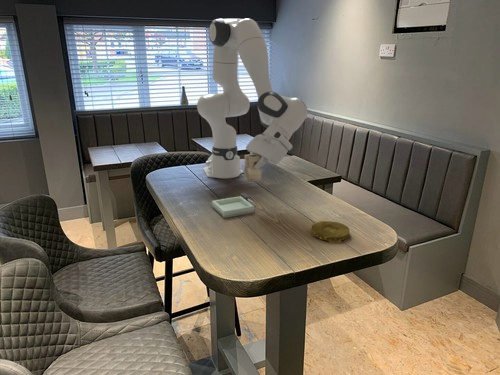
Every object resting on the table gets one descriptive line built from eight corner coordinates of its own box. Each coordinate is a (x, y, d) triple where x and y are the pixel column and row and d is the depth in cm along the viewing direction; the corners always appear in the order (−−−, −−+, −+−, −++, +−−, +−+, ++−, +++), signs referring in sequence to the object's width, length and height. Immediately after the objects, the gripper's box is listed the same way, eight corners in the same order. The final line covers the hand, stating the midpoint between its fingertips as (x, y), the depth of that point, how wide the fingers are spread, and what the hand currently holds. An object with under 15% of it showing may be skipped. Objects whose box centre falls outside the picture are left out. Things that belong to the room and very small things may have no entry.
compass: (336, 247, 113) (336, 240, 113) (303, 235, 121) (304, 229, 120) (355, 234, 122) (356, 228, 121) (324, 224, 129) (324, 218, 129)
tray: (212, 206, 144) (212, 200, 143) (240, 202, 149) (240, 196, 148) (224, 218, 133) (223, 211, 133) (254, 212, 138) (254, 206, 138)
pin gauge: (240, 197, 154) (240, 193, 153) (244, 197, 154) (244, 193, 154) (252, 206, 144) (252, 202, 144) (256, 206, 145) (256, 201, 144)
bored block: (244, 178, 139) (244, 154, 136) (255, 177, 141) (255, 153, 138) (250, 182, 135) (250, 157, 132) (261, 180, 137) (261, 156, 134)
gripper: (256, 127, 144) (233, 154, 143) (284, 136, 127) (258, 167, 126) (266, 137, 148) (244, 164, 147) (295, 148, 130) (270, 178, 129)
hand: (251, 166), depth 136 cm, fingers closed on bored block, 5 cm apart
